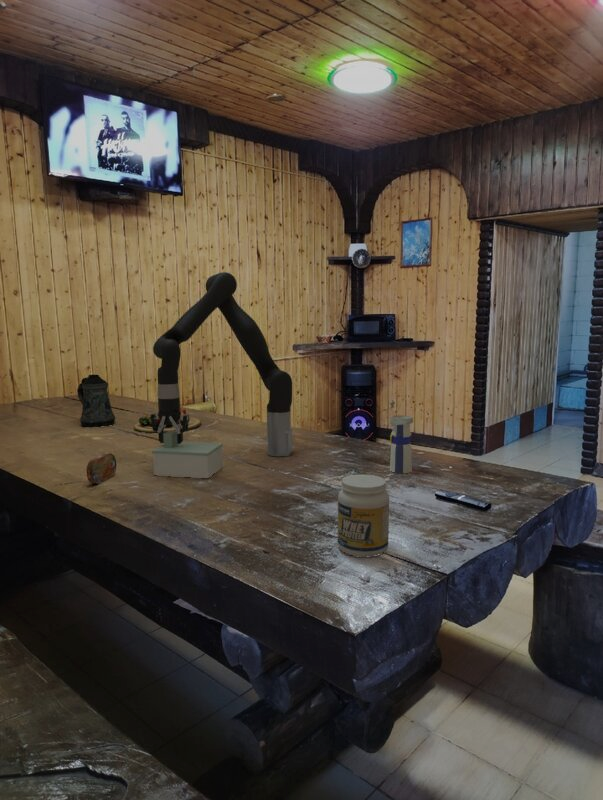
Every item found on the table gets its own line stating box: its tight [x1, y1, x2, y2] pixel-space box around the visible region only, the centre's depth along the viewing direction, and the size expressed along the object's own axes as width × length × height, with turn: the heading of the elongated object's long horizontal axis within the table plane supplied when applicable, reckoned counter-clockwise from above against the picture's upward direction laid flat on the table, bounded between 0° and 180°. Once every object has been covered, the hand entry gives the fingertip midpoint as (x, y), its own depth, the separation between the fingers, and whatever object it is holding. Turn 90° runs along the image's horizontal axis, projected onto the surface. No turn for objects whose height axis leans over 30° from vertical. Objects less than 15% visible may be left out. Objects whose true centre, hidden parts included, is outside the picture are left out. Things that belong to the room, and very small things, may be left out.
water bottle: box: [389, 399, 414, 474], centre depth 200 cm, size 8×9×25 cm
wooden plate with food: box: [133, 407, 201, 434], centre depth 281 cm, size 32×32×8 cm
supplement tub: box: [336, 473, 390, 558], centre depth 136 cm, size 12×12×17 cm
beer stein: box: [76, 374, 116, 428], centre depth 286 cm, size 16×19×25 cm
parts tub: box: [152, 446, 224, 479], centre depth 203 cm, size 20×14×8 cm
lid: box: [151, 431, 224, 456], centre depth 202 cm, size 20×14×8 cm
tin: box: [85, 452, 117, 485], centre depth 194 cm, size 15×3×8 cm, turn 168°
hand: (170, 443), depth 203 cm, fingers open, 6 cm apart
